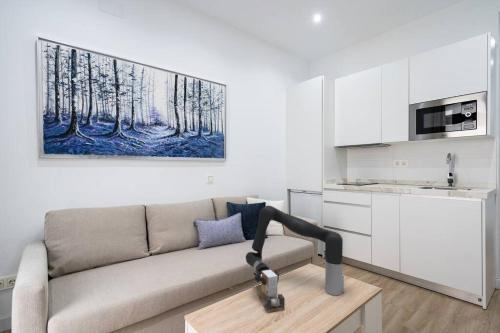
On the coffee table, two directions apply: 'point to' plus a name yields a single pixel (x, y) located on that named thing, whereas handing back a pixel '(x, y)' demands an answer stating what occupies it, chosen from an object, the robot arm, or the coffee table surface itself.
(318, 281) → the coffee table surface
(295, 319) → the coffee table surface
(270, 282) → the small box
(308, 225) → the robot arm
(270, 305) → the stand
